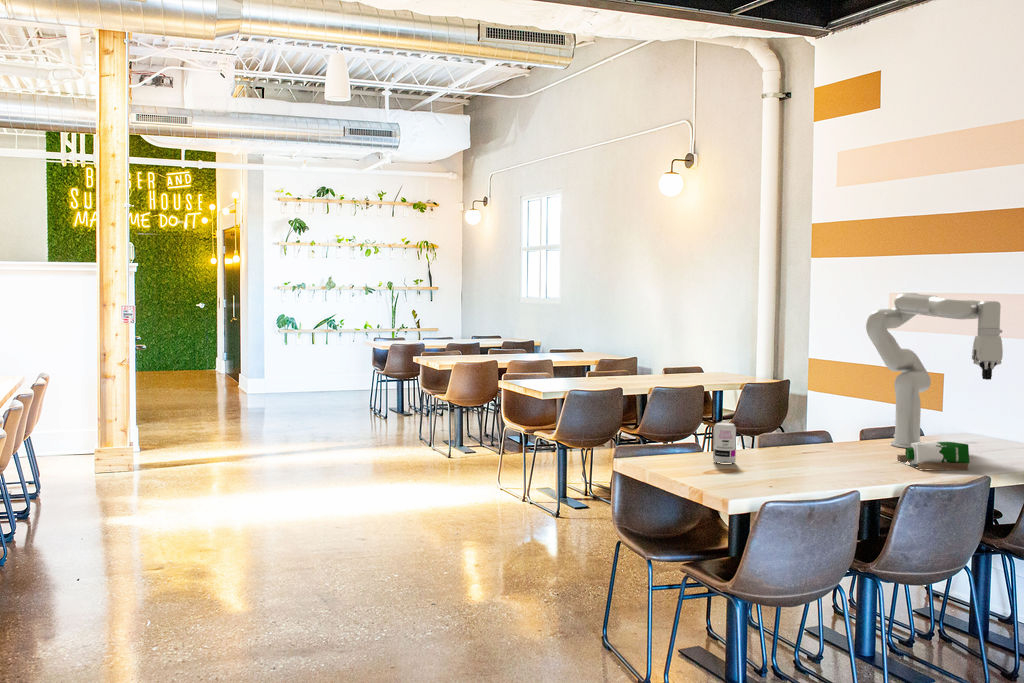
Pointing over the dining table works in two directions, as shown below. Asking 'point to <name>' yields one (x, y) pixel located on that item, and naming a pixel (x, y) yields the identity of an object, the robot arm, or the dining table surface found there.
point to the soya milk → (938, 452)
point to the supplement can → (724, 443)
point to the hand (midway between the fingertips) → (986, 379)
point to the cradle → (934, 464)
